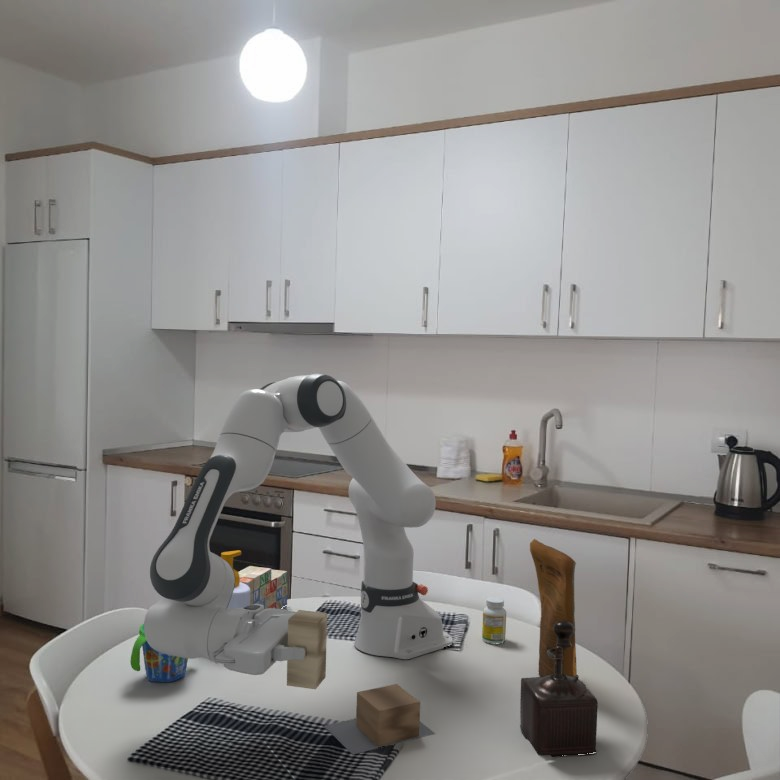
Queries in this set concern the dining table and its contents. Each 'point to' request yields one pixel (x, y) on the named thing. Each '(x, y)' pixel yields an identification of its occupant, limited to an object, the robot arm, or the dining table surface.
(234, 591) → the soap bottle
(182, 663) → the snack cup
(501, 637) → the supplement bottle
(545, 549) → the pancake mix bag
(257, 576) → the stack of blocks
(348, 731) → the mat
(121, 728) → the dining table surface
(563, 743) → the manual coffee grinder
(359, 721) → the walnut block
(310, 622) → the oak column
